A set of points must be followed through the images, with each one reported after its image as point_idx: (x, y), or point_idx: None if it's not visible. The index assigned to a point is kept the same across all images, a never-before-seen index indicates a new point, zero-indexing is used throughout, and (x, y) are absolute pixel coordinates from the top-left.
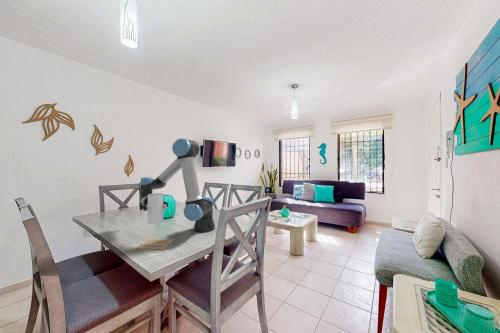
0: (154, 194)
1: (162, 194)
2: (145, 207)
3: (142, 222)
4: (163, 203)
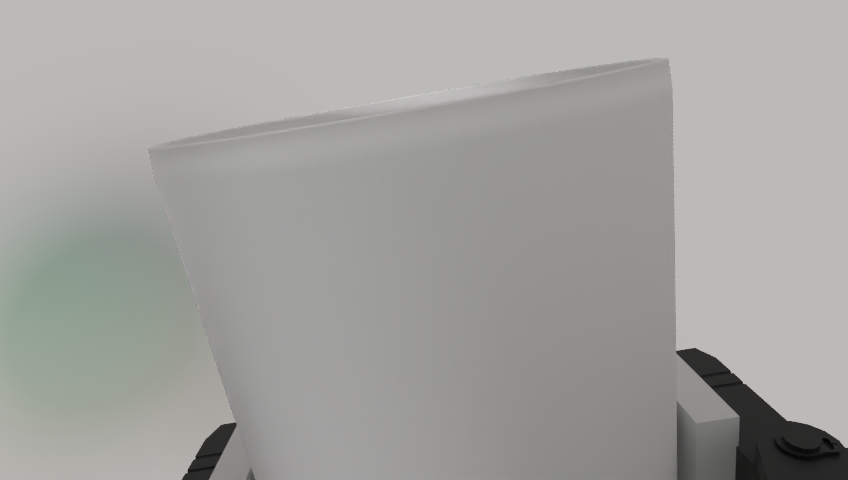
0: (395, 175)
1: (269, 124)
2: (685, 351)
3: None
4: (225, 468)
